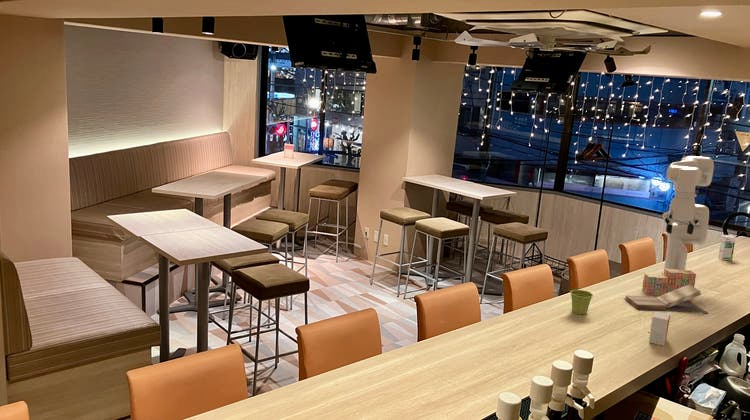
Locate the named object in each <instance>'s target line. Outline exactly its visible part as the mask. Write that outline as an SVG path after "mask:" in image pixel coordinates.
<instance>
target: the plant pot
mask: <svg viewBox="0 0 750 420" xmlns="http://www.w3.org/2000/svg"><path fill="white" fill-rule="evenodd" d="M569 293H570V296H571V311H572V313H574V314H577V315H587V313H588V311H589V307H590V303H591V300H592V298H593V297H594V294H593V293H592V292H590V291H587V290H584V289H583V290H582V289H572V290H570V292H569Z"/></svg>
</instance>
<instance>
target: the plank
mask: <svg viewBox="0 0 750 420" xmlns="http://www.w3.org/2000/svg"><path fill="white" fill-rule="evenodd" d="M699 296H702V293H701V290H700V289H697V288H696V287H695V286H694V287H693V286H691V285H686V286H684V287H681V288H679V289H676V290H673V291H671V292H668V293H666V294H663V295H657V296H656V297H655V298H656V299H658V300H659V301H661V302H662V303H664V304H665V305H667V307H666V308H669V307H671V306H674V305H676V304H679V303H682V302H684V301H687V300H689V301H690V300H691V299H694V298H697V297H699Z"/></svg>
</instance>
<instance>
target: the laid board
mask: <svg viewBox="0 0 750 420" xmlns="http://www.w3.org/2000/svg"><path fill="white" fill-rule="evenodd" d="M625 298H626V299H624V300H625V301H626V302H627V301H628V302H627V303H628V304H629V305H631V306H632V305H633V306H632V307H634V308H635V309H636V308H637V309H652V310H666V307H667V305H665V304H664V303H662V302H661V301H659V300H658V299H656V297H655V296H654V295H652V296H648V295H647V296H646V295H625ZM637 309H636V310H637Z"/></svg>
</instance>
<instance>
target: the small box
mask: <svg viewBox="0 0 750 420" xmlns="http://www.w3.org/2000/svg"><path fill="white" fill-rule="evenodd" d="M670 319H671V314H670V313H666V312H662V311H654V314H653V315H652V317H651V325H650V330H649V331H650V332H649V337H648V338H649V340H648V343H650V344H653V343H654V345H658V346H662V347H664V346H665V345H666V343H667V340H668V335H669V333H668V332H669V326H670Z"/></svg>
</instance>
